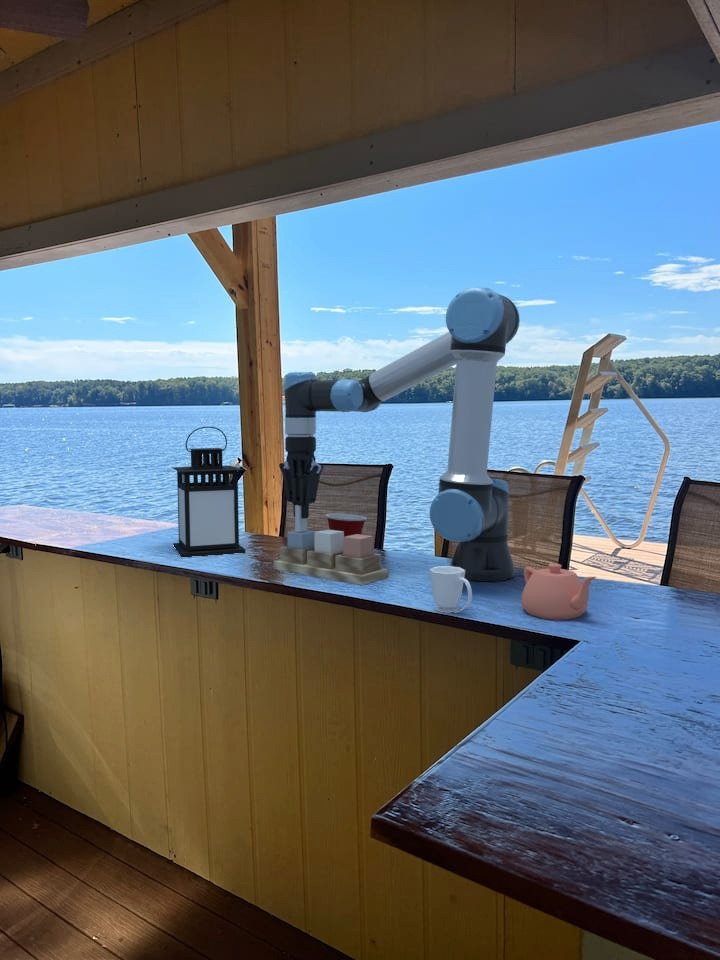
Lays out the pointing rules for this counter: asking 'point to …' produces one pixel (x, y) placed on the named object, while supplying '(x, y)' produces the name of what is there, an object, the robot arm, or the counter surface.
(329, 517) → the plastic cup
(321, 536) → the ivory key
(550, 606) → the teapot
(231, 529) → the lantern
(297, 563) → the beige slotted block
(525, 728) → the counter surface
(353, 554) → the terracotta key
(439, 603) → the cup
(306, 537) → the slate key
